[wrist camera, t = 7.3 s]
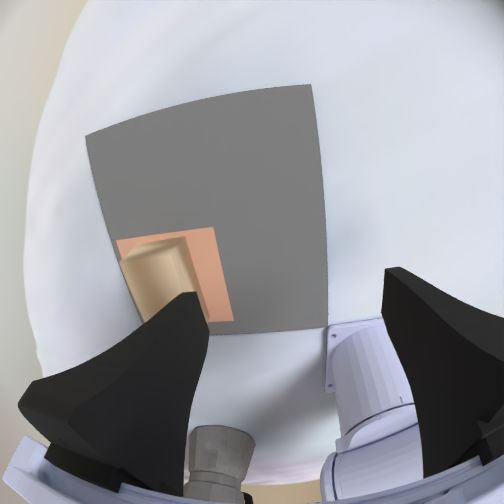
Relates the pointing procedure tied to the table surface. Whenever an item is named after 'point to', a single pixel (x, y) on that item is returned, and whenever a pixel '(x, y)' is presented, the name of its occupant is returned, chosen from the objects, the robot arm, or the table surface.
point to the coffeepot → (218, 464)
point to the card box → (160, 274)
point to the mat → (226, 202)
